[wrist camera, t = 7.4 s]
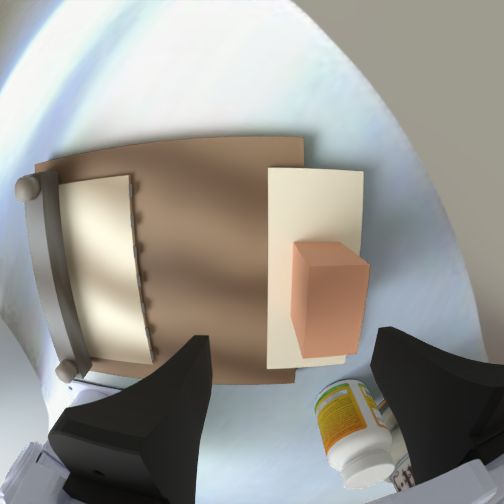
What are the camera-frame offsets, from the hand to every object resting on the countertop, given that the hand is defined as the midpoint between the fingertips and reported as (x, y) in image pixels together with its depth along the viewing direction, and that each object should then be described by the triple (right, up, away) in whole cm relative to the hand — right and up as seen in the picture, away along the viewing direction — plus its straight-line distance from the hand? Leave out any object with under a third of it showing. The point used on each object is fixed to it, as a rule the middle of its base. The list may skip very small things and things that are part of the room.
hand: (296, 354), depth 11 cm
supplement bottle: (+7, -10, +12) cm, 17 cm away
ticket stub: (+2, +2, +7) cm, 8 cm away
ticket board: (-9, +3, +9) cm, 13 cm away
